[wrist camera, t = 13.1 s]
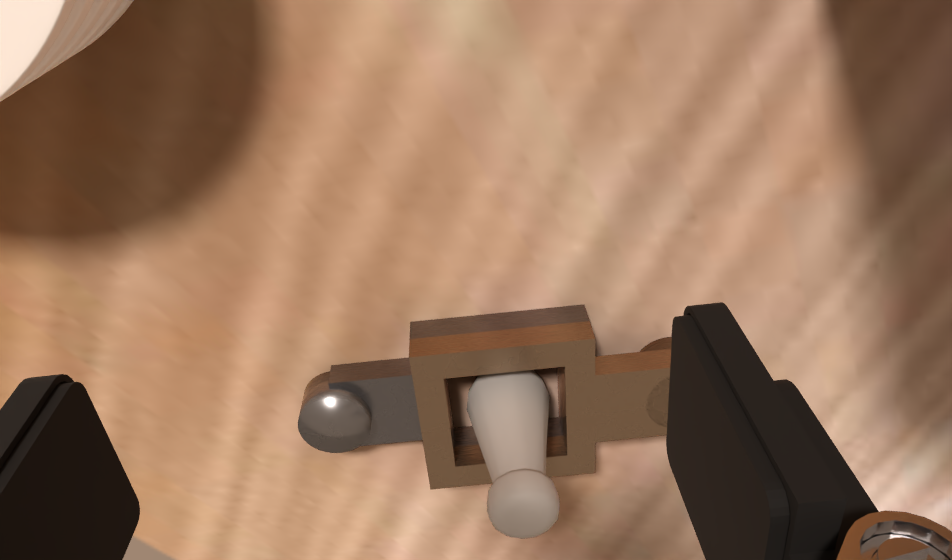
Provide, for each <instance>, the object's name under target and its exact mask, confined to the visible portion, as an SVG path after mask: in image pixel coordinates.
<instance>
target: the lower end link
mask: <svg viewBox="0 0 952 560" xmlns="http://www.w3.org/2000/svg"><path fill="white" fill-rule="evenodd" d="M586 321H589V318H588V315H587V312H586V309H585V306H584V305H576V306H567V307H557V308H547V309H537V310H527V311H517V312H507V313H497V314H487V315H477V316H467V317H457V318H447V319H437V320H428V321H418V322H410V339H417V338H427V337H437V336H447V335H457V334H467V333H477V332H487V331H496V330H506V329H516V328H526V327H536V326H546V325H556V324H566V323H576V322H586ZM557 375H558V404H559V418H549V419H548V429H547V437H557V436H563V418H562V386H561V367H557ZM446 387H447V394H448V402H449V409H450V417H451V424H452V431H453V439H454V446H455V447H458V446H468V445H478V444H479V443H478V440H477V437H476V434H475V431H474V429H473V426H470V427H460V428H454V426H453V419H452V411H451V404H450V396H449V388H448V381H447V378H446ZM298 429H299V432H300V434H301V436H302V438H303V439H304V440H305V441H306V442H307V443H308V444H309V445H311V446H312V447H314V448H316V449H318V450H321V451H325V452H330V453H342V452H347V451H351V450H354V449H356V448H358V447H359V446H367V445H377V444H387V443H397V442H406V441H416V440H422V433H421V427H420V421H419V415H418V409H417V403H416V397H415V391H414V385H413V378H412V372H411V366H410V360H409V358H402V359H392V360H382V361H372V362H362V363H352V364H342V365H332V366H331V371H330V372H326V373H323V374H320V375H318V376H316V377H315V378H313V379H312V380H311V381H310V382H309V384H308V385H307V387H306V389H305V392H304V397H303V401H302V406H301V410H300V415H299V420H298Z"/></svg>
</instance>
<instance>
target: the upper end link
mask: <svg viewBox="0 0 952 560" xmlns="http://www.w3.org/2000/svg"><path fill="white" fill-rule="evenodd" d="M671 343H672V337H667V338H662V339H658V340H656V341H653V342H651V343H650V344H648V345H647V346H645V347H644V348H643V349H642V350H641V351H640V352H635V353H626V354H616V355H606V356H596V357H595V336H594V333H593V330H592V327H591V324H590V321H586V322H576V323H566V324H556V325H546V326H536V327H526V328H516V329H506V330H496V331H487V332H477V333H467V334H457V335H447V336H437V337H427V338H417V339H410V346H409V360H410V366H411V372H412V378H413V385H414V391H415V397H416V403H417V409H418V415H419V421H420V427H421V433H422V440H423V446H424V452H425V458H426V464H427V470H428V476H429V482H430V489H440V488H450V487H460V486H470V485H480V484H489V483H493V482H492V480H491V477H490V474H489V471H488V468H487V465H486V463H485V460H484V457H483V454H482V451H481V448H480V446H479V444H478V445H468V446H458V447H455V446H454V439H453V431H452V424H451V417H450V409H449V402H448V394H447V387H446V378H456V377H466V376H476V375H485V374H495V373H505V372H515V371H525V370H535V369H545V368H555V367H561V386H562V418H563V436H557V437H547V449H546V475H547V476H548V477H558V476H568V475H578V474H588V473H595V442H602V441H612V440H622V439H632V438H642V437H652V436H662V435H667V420H668V401H669V382H670V363H671Z"/></svg>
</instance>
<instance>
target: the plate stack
mask: <svg viewBox="0 0 952 560" xmlns="http://www.w3.org/2000/svg"><path fill="white" fill-rule="evenodd" d="M133 1H134V0H0V102H1V101H2V100H4V99H5V98H7V97H9V96H10V95H12V94H13V93H15V92H17V91H18V90H19V89H21V88H23V87H24V86H26V85H27V84H29V83H31V82H32V81H34V80H36V79H37V78H39V77H40V76H42V75H43V74H45V73H46V72H48V71H50V70H51V69H53V68H55V67H56V66H58V65H59V64H61V63H63V62H64V61H65V60H67V59H69V58H70V57H72V56H73V55H75V54H77V53H78V52H80V51H82V50H83V49H84V48H86V47H87V46H89V45H90V44H92V43H93V42H94V41H95V40H97V39H98V38H99V37H100V36H102V35H103V34H104V33H105V32H106V31H107V30H108V29H109V28H111V27H112V25H113V24H114V23H115V22H116V21H117V20H118V19H119V18H120V17H121V16H122V15H123V13H124V12H125V11H126V10H127V9H128V7H129V6H130V5H131V3H132V2H133Z"/></svg>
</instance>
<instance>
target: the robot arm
mask: <svg viewBox="0 0 952 560" xmlns="http://www.w3.org/2000/svg"><path fill="white" fill-rule="evenodd" d="M666 446H667V454H668V459H669V463H670V466H671V469H672V472H673V474H674V477H675V479H676V482H677V485H678V487H679V490H680V493H681V495H682V498H683V501H684V503H685V506H686V508H687V511H688V514H689V516H690V519H691V522H692V524H693V527H694V530H695V532H696V535H697V537H698V540H699V543H700V545H701V548H702V551H703V553H704V556H705V559H706V560H952V532H951V531H950V530H949V529H947V528H946V527H944V526H942V525H940V524H938V523H936V522H934V521H932V520H930V519H927V518H925V517H921V516H918V515H914V514H911V513H907V512H898V511H881V512H879V511H878V510H877V508H876V507H875V505H874V504H873V502H872V501H871V499H870V498H869V496H868V495H867V493H866V492H865V490H864V489H863V487H862V486H861V484H860V483H859V481H858V480H857V478H856V477H855V475H854V474H853V472H852V471H851V469H850V468H849V466H848V465H847V463H846V461H845V460H844V458H843V457H842V455H841V454H840V452H839V451H838V449H837V448H836V446H835V445H834V443H833V442H832V440H831V439H830V437H829V436H828V434H827V433H826V431H825V430H824V428H823V427H822V425H821V424H820V422H819V421H818V419H817V418H816V416H815V414H814V413H813V411H812V410H811V408H810V407H809V405H808V404H807V402H806V401H805V399H804V398H803V396H802V395H801V393H800V392H799V390H798V389H797V388H796V386H795V385H794V384H793V383H792V382H790V381H788V380H777V381H773V379H772V378H771V376H770V374H769V373H768V371H767V370H766V368H765V366H764V365H763V363H762V362H761V360H760V358H759V357H758V355H757V354H756V352H755V350H754V349H753V347H752V346H751V344H750V342H749V341H748V339H747V338H746V336H745V334H744V333H743V331H742V330H741V328H740V326H739V325H738V323H737V322H736V320H735V318H734V317H733V315H732V314H731V312H730V310H729V309H728V307H727V306H726V305H725V304H724V303H712V304H703V305H694V306H687V307H686V308H685V311H684V316H678V317H675V318H674V319H673V325H672V343H671V363H670V382H669V401H668V420H667V439H666ZM139 515H140V507H139V501H138V498H137V496H136V494H135V492H134V490H133V488H132V486H131V484H130V481H129V479H128V477H127V475H126V473H125V471H124V469H123V467H122V465H121V462H120V460H119V458H118V456H117V454H116V452H115V450H114V448H113V446H112V444H111V441H110V439H109V437H108V435H107V433H106V431H105V429H104V427H103V425H102V422H101V420H100V418H99V416H98V414H97V412H96V410H95V408H94V406H93V403H92V401H91V399H90V397H89V395H88V393H87V391H86V389H85V387H84V386H83V385H82V384H81V383H80V382H74V381H73V380H72V378H70V377H69V376H68V375H64V374H60V375H51V376H42V377H33V378H27V379H24V380H23V381H22V382H21V383H20V384H19V385H18V387H17V388H16V389H15V391H14V392H13V393H12V395H11V396H10V397H9V399H8V400H7V401H6V403H5V404H4V406H3V407H2V408H1V410H0V560H122V559H123V557H124V554H125V552H126V550H127V547H128V545H129V543H130V540H131V538H132V536H133V533H134V531H135V528H136V526H137V524H138V520H139Z"/></svg>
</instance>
